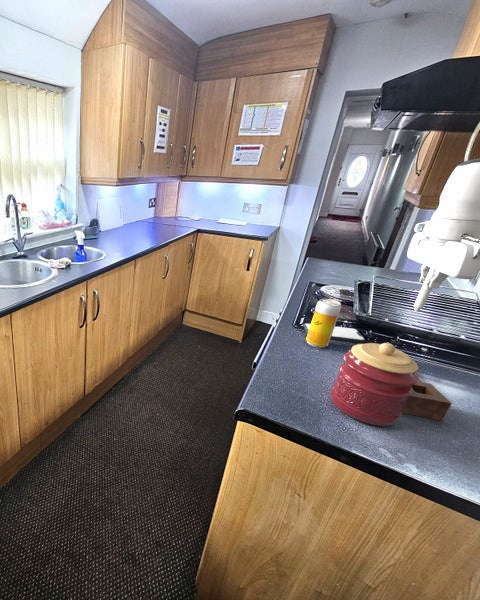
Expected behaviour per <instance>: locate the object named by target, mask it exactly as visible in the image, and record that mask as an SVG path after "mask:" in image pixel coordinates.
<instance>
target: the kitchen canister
mask: <svg viewBox="0 0 480 600" xmlns="http://www.w3.org/2000/svg"><path fill="white" fill-rule="evenodd" d="M350 350H351V351H349V352H348V351H347V352H346V353H344V355H343V361H344V363H342V364H340V365H339V367H338V373H337V376H336V378H335V380H334V383H333V385H332V386H331V388H330V394H329V395H330V396H329V397H330V401H331V402H332V403H333V405H334V406H335V407H336V408H337V409H338V410H339V411H341V412H342V413H344V414H345V415H346V416H349V417H350V418H353V419H355V420H357V421H359V422H363V423H364V424H365V423H366V424H367V425H374V426H380V427H388V426H392V425H395V423H397V421H398V420H400V419H401V416H402V415H403V413H402V410H403V408H404V406H405V404H406V402H407V400H408V398H409V396H410V395H411V394H412V392H413V389H412V385H413V384H416V383H417V382H418V381H419V377H420V375H419V374H418V372H417V371H418V370H419V365H418V363H417V362H416V360H414V359H412V358H411V357H410V356H409V355H408V354H407V353H405V352H404V351H402V350H400V349H397V348H396V347H395V345H393V344H392V343H390V342H383V343H373V342H367V343H357V344H355V345H353V346H352V347H351V349H350Z"/></svg>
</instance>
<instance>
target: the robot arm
mask: <svg viewBox="0 0 480 600" xmlns="http://www.w3.org/2000/svg"><path fill="white" fill-rule="evenodd" d="M413 229H414V230H413V231H414V232H415V233H414V234H413V236H412V237H411V241H410V242H409V245H408V249H407V252H406V255H407V259H409V260H411V261H413V262H416V263H418V264H420V265H421V266H420V278H419V280H418V281H419V283H421V284H422V285H423V284H424V281H425V279H426V277H427V275H428V272H429V270H430V268H432V269H434V270H436V271H435V273H434V274H435V276H434V277H433V278H432V280H430V279H429V281H428V283H427V286H428V287H430V288H432V289H435V290H436V289H439V288H440V286H441V284H442V283H443V282H444V281H445V280H447V279H448V278H449V277H451V278H453V279H459V280H460V279H461V280H472V279H475V278H476V277H477V275H478V274H479V272H480V157H479V158H472V159H468V160H465V161H463V162H461V163H459V164H458V165H457V166H456V167H455V168H454V169H453V170H452V172H451V174H450V176H449V177H448V179H447V181H446V183H445V185H444V187H443V190H442V192H441V193H440V196H439V204H438V206H437V208H436V210H435V211H434V212H433V214H432V216H431V217H430V219H429V220H426V221H422V222H418V223H417V224H415V227H414V228H413Z"/></svg>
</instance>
